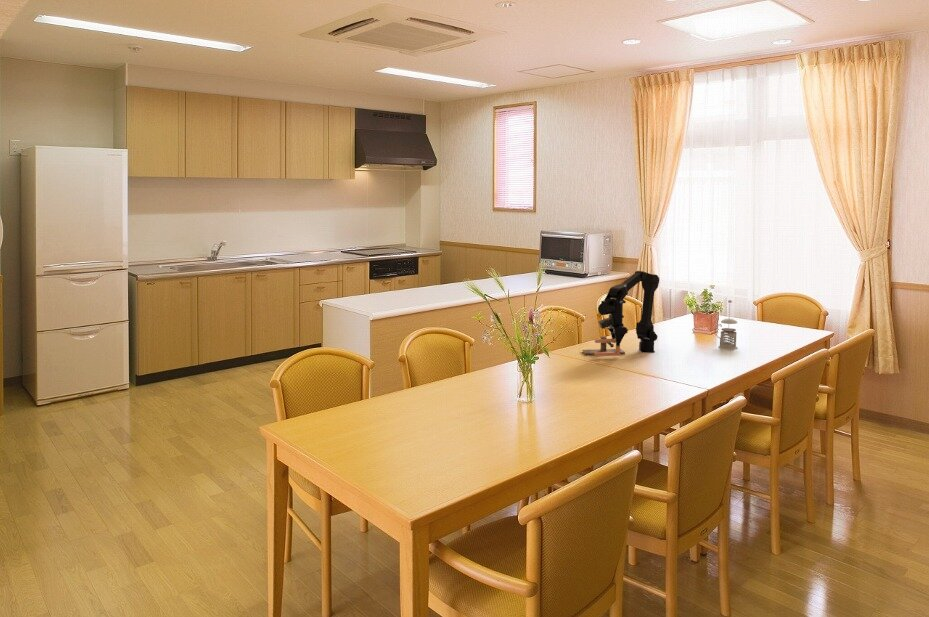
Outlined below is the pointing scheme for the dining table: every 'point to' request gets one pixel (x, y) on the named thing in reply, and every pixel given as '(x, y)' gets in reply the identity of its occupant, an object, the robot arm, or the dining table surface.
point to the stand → (602, 349)
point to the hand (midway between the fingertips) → (616, 344)
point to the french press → (730, 332)
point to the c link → (607, 352)
